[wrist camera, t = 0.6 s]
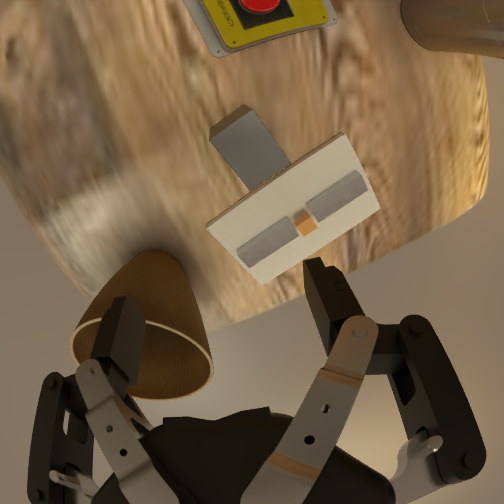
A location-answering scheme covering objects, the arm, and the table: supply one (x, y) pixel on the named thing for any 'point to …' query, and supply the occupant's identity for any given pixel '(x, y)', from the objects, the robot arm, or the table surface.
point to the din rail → (319, 208)
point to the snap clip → (305, 224)
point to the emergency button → (255, 21)
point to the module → (248, 146)
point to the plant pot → (155, 328)
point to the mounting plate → (295, 208)
